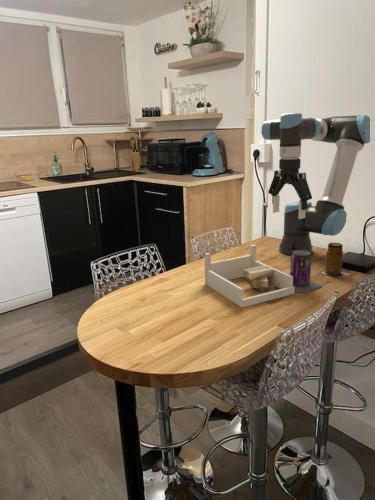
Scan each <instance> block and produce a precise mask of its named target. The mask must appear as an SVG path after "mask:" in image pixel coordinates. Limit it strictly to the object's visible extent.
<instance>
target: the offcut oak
mask: <svg viewBox="0 0 375 500" xmlns="http://www.w3.org/2000/svg"><path fill="white" fill-rule="evenodd" d="M252 283H253V285H252V286H253V288H256V289H257V288H268V279H267V277H263V278H258V279H253V280H252Z"/></svg>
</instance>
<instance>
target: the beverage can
mask: <svg viewBox="0 0 375 500" xmlns="http://www.w3.org/2000/svg"><path fill="white" fill-rule="evenodd" d="M312 258H313V257H312V253H310V252H309V251H306V250H295V251H293V254H292V255H290V271H289V275H290V276H293V284H294V285H296V286H305V285H308V284H309V283H310V281H311V271H312V270H311V269H312Z"/></svg>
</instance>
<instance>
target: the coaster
mask: <svg viewBox="0 0 375 500" xmlns="http://www.w3.org/2000/svg"><path fill="white" fill-rule="evenodd" d="M293 287H295V289H294V293H297V294H301V293H305V292H309V291H313V290H316V289H317V290H318V289H320V288H322V287H323V286H322V284H320V283H317V282H314V281H312V280H310V283H309V284H308V285H305V286H296V285H294V284H293Z"/></svg>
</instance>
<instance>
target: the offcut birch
mask: <svg viewBox="0 0 375 500" xmlns="http://www.w3.org/2000/svg"><path fill="white" fill-rule="evenodd" d="M266 265H267V264H265V265H264V266H259V267H254V268H249V269H244V270H243V278H244V277H245V278H246V279H247V280H248V279H250V280H253V279H258V278H263V277H267V276H272V275H273V271H274V269H275V268H274V269H272V268H273V267H272V268H270V267H271V266H270V267H268V266H269V265H268V266H266Z"/></svg>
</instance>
